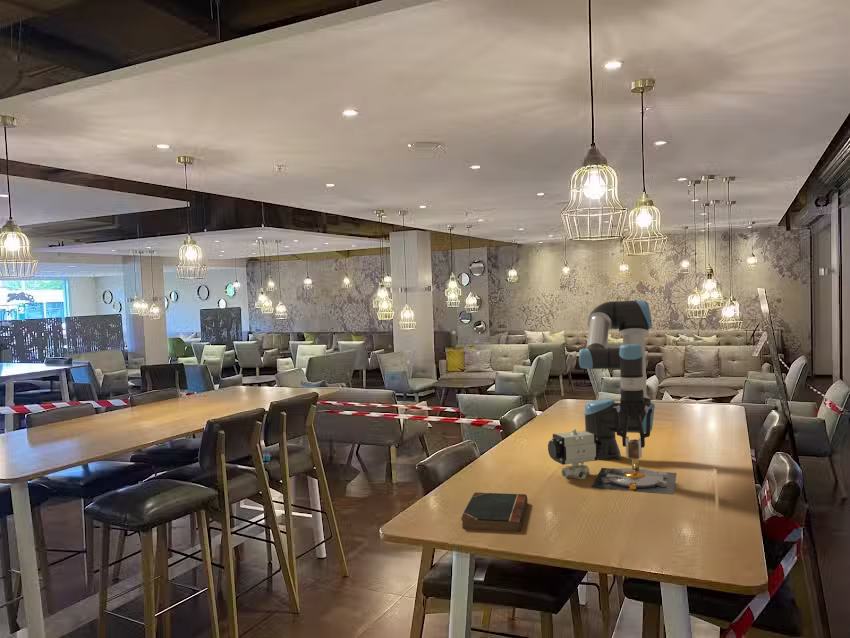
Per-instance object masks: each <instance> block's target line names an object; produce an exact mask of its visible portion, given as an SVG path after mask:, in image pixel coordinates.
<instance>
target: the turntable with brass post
mask: <svg viewBox="0 0 850 638" xmlns="http://www.w3.org/2000/svg"><path fill="white" fill-rule="evenodd" d="M631 466H632V467H624V468H614V469H615V470H612V469H613V468H611V469H606V470H605V474H607V477H602V482H603V483H613V484H616V485H619V486H625V487H630V489H634V490H636V488H645V487H654V486H661V487H665V486H667V481H663V478H667V473H666V472H667V471H656V472H655V470H651V469H646V468H640V458H639V459H637V458H631Z"/></svg>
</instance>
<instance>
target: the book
mask: <svg viewBox="0 0 850 638" xmlns="http://www.w3.org/2000/svg"><path fill="white" fill-rule="evenodd" d="M527 504H528V495H527V494H525V493H500V492H499V493H497V492H477V491H476V492H473V494H472V495H471V497H470V500H469V502H468V503H467V506H466V507H465V509H464V511H463V513H462V514H461V517H460V520H461V521H462V523H461V524H462V527H461V529H469V530H473V529H474V530H488V531H489V530H490V531H509V532H510V531H511V532H513V531H514V532H520V531H521V530H522V525H523V523H524V522H523V521H524V517H525V514H526V509H527V506H528V505H527Z"/></svg>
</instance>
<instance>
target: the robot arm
mask: <svg viewBox="0 0 850 638" xmlns="http://www.w3.org/2000/svg"><path fill="white" fill-rule="evenodd" d="M650 309H651V308H650V306H649V303H648V301H646V300H637V299H634V300H617V301H616V300H615V301H613V300H612V301H610V300H609V301H605V302H603V303H602V304H599V305H598V306H596V307H595V308H593V310H591V312H590V314H589V315H588V316H587V327H588V333H587V340H586V346H585V348H581V349H579V351H578V363H579V367H580V369H585V370H586V369H587V370H604V369H605V370H608V369H609V370H610V369H611V370H614V369H615V370H617V369H618V370H619V371H620V373H619V374H620V376H619V377H620V388H621V389H620V398H619V399H620V401H619V402H616V401H615V399H614V398H598V399H593V400H590V401H588V402H586V404H585V406H584V413H583V414H584V419H585V420H584V425H585V427H584V428H585V430H584V431H589V432H591V433H594V434H596V436H598V437H599V439H600V441H601V445H602V450H601V452H600V454H598V457H597V461H609V460H611V461H612V460H613V461H619V460H620V459H621V458H622V457H621V454H622V453H621V450H620V447H619V445H618V442H617V439H616V438H617V437H616V436H620V437H621V438H622V439H621V440H622V447H624V448H625V457H627V458H629V454H628V443H629V441H630V438H629V436H627V434H628V433H631V434H632V433H634V434H639V437H638V439H637V440H638V444H639V459H641V458H642V457H643V452H642V451H643V448H645V446H646V438H649V437H650V436H651V432H652V431H653V426H654V417H655V408H656V407H655V403H654V402H652V399H651V397H650V396H649V395H647V369H646V368H647V363H646V361H647V359H646V336H647V335H648V334H649V331H650V329H652V328H653V322H652V316H651V314H652V313H651V310H650ZM610 330H618V334H619V335H620V336H621V337H622V344H621V345H620V346H619V347H608V341H609V340H608V338H609V331H610Z"/></svg>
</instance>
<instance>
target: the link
mask: <svg viewBox="0 0 850 638" xmlns="http://www.w3.org/2000/svg"><path fill="white" fill-rule="evenodd" d="M628 454H629V457H628V459H632V458H637V459H639V460H640V458H639V444H638V439H629V443H628Z"/></svg>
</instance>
